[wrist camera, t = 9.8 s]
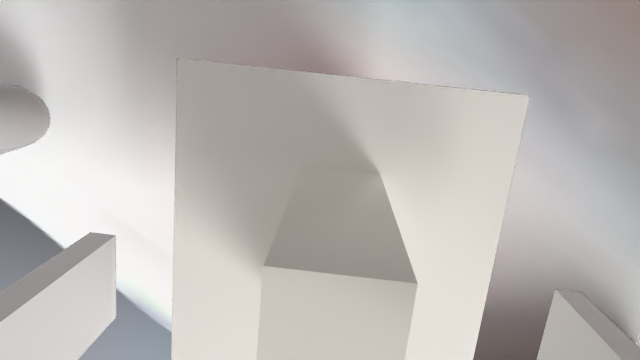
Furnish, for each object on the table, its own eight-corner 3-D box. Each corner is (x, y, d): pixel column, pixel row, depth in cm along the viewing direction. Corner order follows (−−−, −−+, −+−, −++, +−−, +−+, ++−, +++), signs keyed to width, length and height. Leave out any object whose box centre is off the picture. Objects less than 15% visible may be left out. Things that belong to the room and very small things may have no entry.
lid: (517, 93, 18) (742, 131, 8) (458, 378, 21) (562, 660, 11) (188, 58, 18) (-4, 53, 8) (180, 344, 21) (38, 590, 11)
